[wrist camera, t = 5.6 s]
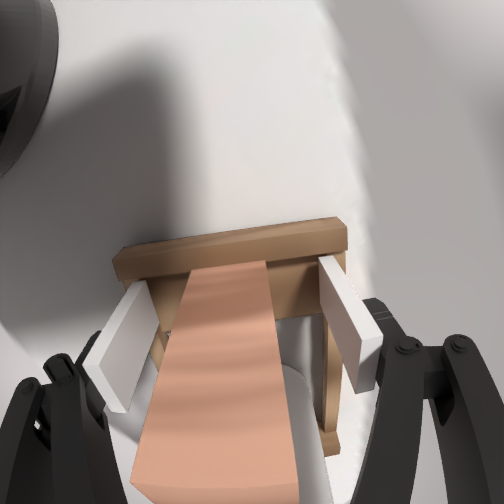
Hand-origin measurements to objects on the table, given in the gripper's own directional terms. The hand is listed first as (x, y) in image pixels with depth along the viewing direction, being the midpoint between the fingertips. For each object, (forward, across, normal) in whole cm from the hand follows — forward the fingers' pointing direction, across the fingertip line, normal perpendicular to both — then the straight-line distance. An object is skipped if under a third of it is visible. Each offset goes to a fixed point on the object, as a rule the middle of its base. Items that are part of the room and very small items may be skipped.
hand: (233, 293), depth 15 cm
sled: (+2, 0, -7) cm, 7 cm away
